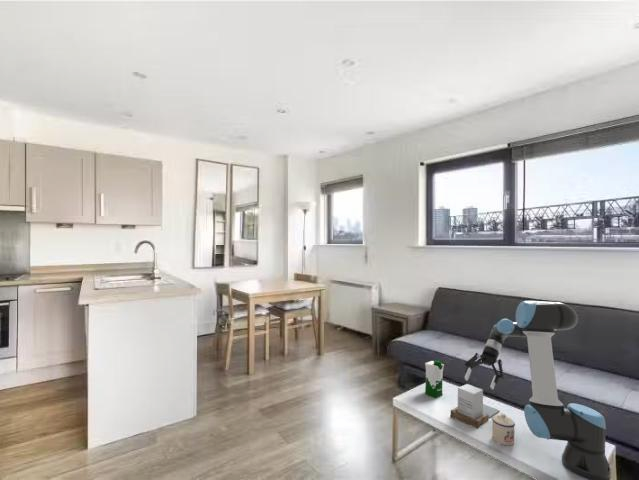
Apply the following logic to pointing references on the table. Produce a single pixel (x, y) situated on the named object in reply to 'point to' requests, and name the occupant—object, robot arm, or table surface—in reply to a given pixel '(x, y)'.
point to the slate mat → (489, 411)
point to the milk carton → (434, 378)
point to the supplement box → (470, 401)
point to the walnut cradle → (469, 420)
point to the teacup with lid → (503, 429)
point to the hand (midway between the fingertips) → (478, 383)
